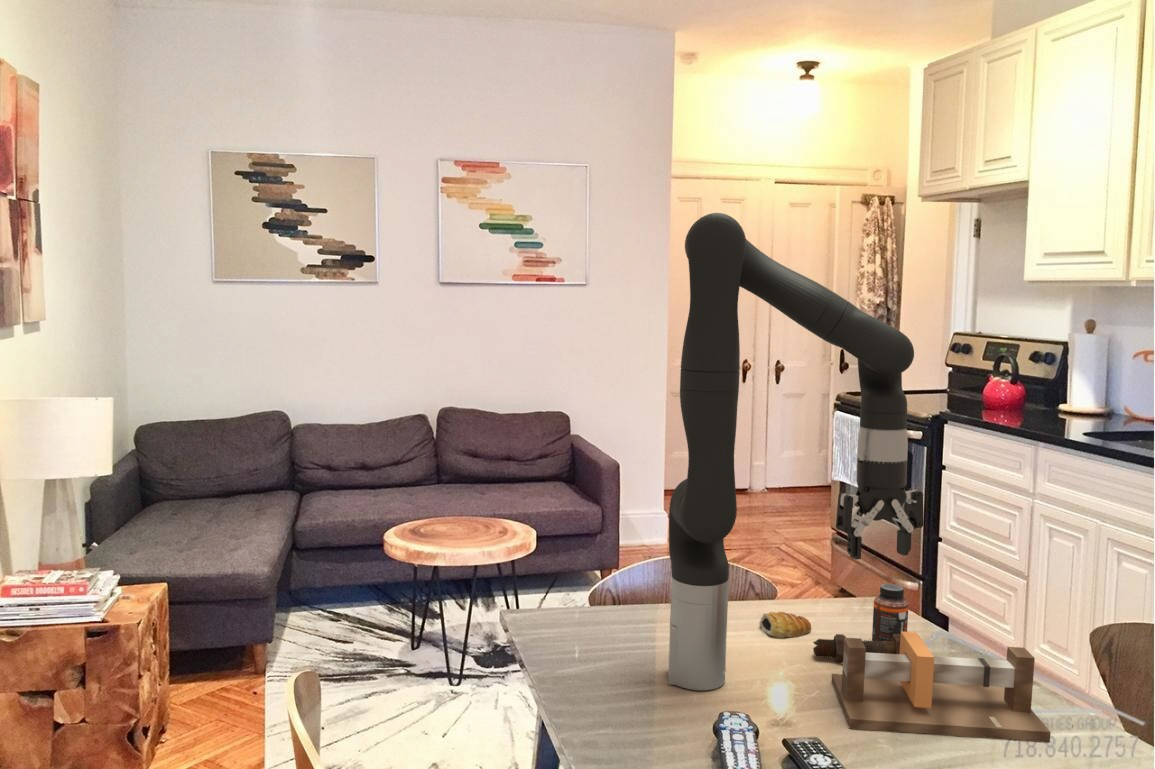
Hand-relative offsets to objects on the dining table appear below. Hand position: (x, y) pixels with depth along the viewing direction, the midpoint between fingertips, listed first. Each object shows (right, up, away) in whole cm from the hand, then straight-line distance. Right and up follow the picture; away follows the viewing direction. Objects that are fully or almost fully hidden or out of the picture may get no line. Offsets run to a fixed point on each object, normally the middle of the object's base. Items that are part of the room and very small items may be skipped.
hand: (878, 556), depth 145 cm
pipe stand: (+7, -23, -5) cm, 24 cm away
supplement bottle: (+8, -20, +20) cm, 30 cm away
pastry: (-9, -20, +27) cm, 35 cm away
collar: (+4, -20, -5) cm, 21 cm away
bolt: (+1, -21, +13) cm, 25 cm away
